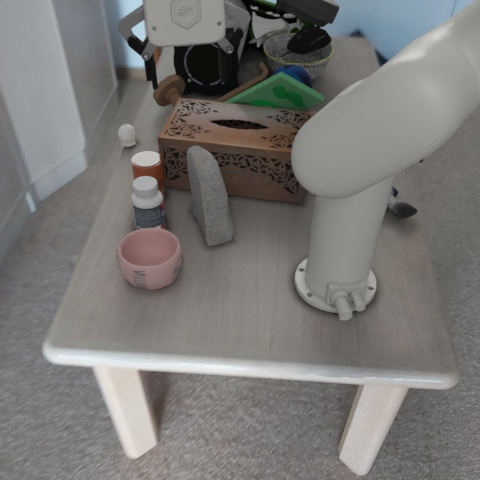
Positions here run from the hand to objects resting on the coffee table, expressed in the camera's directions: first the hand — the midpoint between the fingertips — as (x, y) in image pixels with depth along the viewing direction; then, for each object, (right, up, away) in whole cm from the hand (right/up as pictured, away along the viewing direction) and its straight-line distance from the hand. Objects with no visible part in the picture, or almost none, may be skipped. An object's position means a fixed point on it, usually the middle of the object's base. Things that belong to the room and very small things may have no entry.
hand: (189, 82), depth 79 cm
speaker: (+1, +26, +56) cm, 62 cm away
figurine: (+13, +34, +49) cm, 61 cm away
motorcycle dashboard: (+15, +41, +56) cm, 71 cm away
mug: (-6, -26, +10) cm, 28 cm away
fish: (+33, -6, +26) cm, 42 cm away
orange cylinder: (-9, -11, +23) cm, 27 cm away
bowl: (+20, +23, +54) cm, 63 cm away
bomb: (+18, +13, +36) cm, 42 cm away
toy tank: (+12, +39, +61) cm, 73 cm away
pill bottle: (-8, -18, +17) cm, 26 cm away
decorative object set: (-8, +3, +36) cm, 37 cm away
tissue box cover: (+7, -5, +28) cm, 30 cm away
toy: (+16, +6, +30) cm, 34 cm away
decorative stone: (+2, -17, +18) cm, 25 cm away
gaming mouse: (+22, +28, +48) cm, 60 cm away
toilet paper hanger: (+2, +18, +38) cm, 43 cm away
